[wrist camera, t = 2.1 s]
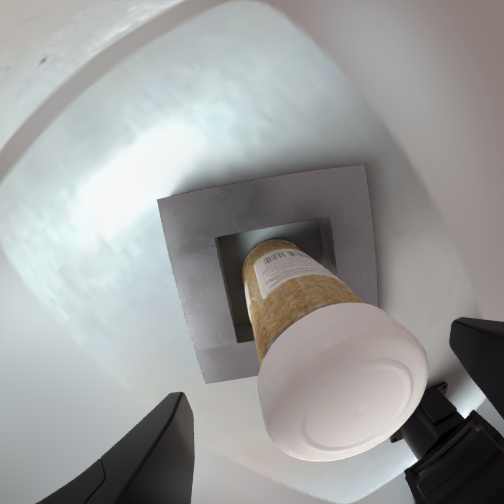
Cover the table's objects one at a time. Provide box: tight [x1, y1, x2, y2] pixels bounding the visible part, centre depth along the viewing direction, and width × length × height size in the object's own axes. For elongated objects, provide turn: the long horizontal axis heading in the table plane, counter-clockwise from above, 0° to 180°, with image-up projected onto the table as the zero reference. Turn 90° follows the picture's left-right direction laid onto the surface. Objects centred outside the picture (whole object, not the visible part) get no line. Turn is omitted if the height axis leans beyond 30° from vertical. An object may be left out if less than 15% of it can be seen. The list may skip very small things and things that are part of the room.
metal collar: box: [157, 165, 378, 384], centre depth 18 cm, size 12×12×2 cm
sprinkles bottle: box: [241, 239, 429, 461], centre depth 12 cm, size 5×5×13 cm
